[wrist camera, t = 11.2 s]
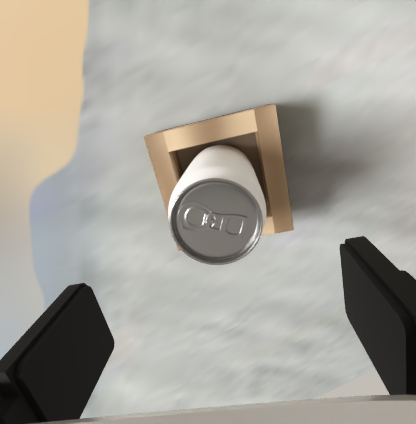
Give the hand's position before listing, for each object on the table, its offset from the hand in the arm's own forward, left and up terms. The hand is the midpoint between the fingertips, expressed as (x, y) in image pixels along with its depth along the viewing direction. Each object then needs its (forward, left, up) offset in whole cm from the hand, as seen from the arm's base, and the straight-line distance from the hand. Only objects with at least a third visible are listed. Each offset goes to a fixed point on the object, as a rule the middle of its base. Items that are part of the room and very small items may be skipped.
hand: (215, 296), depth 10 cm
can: (0, 0, -19) cm, 19 cm away
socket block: (0, 0, -20) cm, 20 cm away
